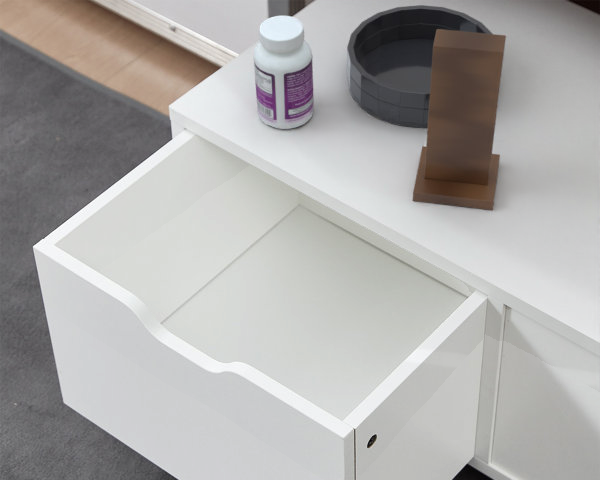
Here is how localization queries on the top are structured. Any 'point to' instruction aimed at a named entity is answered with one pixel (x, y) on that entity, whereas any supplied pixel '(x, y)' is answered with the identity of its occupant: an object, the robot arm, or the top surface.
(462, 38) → the brown upright plaque stand
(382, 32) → the pan
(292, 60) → the pill bottle
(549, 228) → the top surface
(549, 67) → the top surface
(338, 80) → the top surface
